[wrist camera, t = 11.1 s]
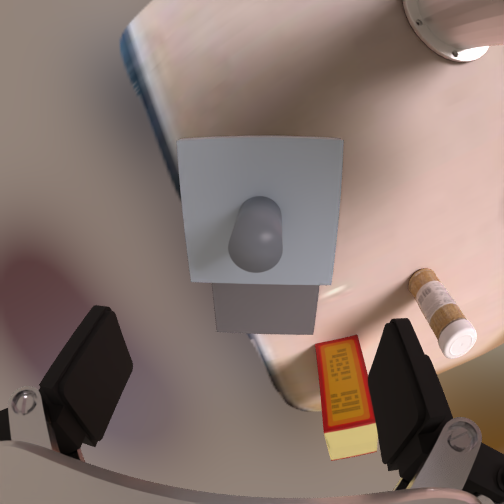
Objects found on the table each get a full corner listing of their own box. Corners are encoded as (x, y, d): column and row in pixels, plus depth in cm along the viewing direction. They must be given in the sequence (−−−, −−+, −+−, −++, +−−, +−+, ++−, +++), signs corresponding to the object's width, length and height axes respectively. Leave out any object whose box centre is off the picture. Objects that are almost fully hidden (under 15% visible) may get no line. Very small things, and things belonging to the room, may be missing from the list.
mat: (209, 244, 39) (208, 245, 39) (322, 246, 38) (323, 247, 38) (217, 330, 45) (216, 331, 45) (312, 332, 44) (313, 334, 44)
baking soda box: (360, 373, 48) (377, 453, 34) (323, 381, 49) (331, 463, 35) (357, 334, 44) (378, 423, 30) (315, 343, 45) (323, 434, 31)
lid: (181, 138, 21) (148, 153, 15) (340, 138, 20) (363, 152, 14) (194, 274, 26) (173, 321, 20) (329, 277, 25) (341, 326, 19)
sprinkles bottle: (417, 299, 41) (452, 365, 29) (401, 282, 39) (437, 349, 28) (440, 279, 39) (482, 341, 27) (426, 260, 38) (470, 322, 26)
